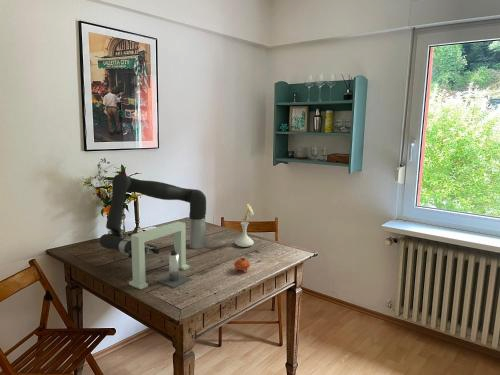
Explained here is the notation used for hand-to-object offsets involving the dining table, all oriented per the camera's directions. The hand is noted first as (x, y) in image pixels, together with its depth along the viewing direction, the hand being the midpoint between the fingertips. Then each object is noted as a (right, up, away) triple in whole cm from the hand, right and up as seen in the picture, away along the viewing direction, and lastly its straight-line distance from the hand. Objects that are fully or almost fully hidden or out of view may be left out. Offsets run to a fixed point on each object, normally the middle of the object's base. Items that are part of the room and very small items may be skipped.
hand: (151, 254), depth 172 cm
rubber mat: (+12, -11, -7) cm, 18 cm away
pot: (+43, -9, +6) cm, 45 cm away
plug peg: (+12, -10, -7) cm, 17 cm away
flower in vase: (+44, -2, +44) cm, 62 cm away
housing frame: (+5, -10, -2) cm, 11 cm away
